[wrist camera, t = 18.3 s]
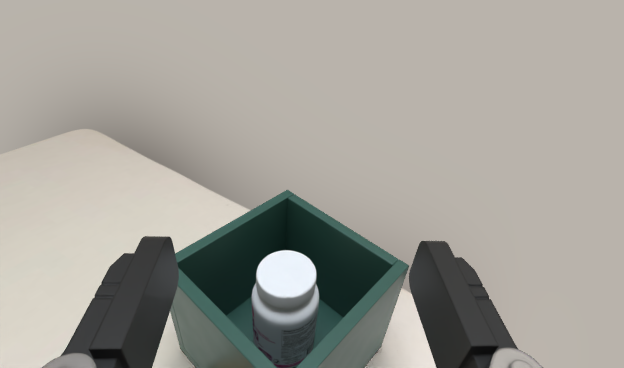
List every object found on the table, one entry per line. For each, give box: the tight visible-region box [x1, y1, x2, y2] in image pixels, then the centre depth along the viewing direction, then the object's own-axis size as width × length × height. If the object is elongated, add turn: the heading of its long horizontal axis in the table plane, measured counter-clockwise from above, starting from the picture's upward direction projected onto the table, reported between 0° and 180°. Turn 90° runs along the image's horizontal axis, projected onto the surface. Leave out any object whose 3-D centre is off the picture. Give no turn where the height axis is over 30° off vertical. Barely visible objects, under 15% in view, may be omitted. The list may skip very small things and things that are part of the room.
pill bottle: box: [252, 250, 319, 368], centre depth 25 cm, size 5×5×8 cm
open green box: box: [170, 190, 409, 368], centre depth 26 cm, size 12×12×10 cm
